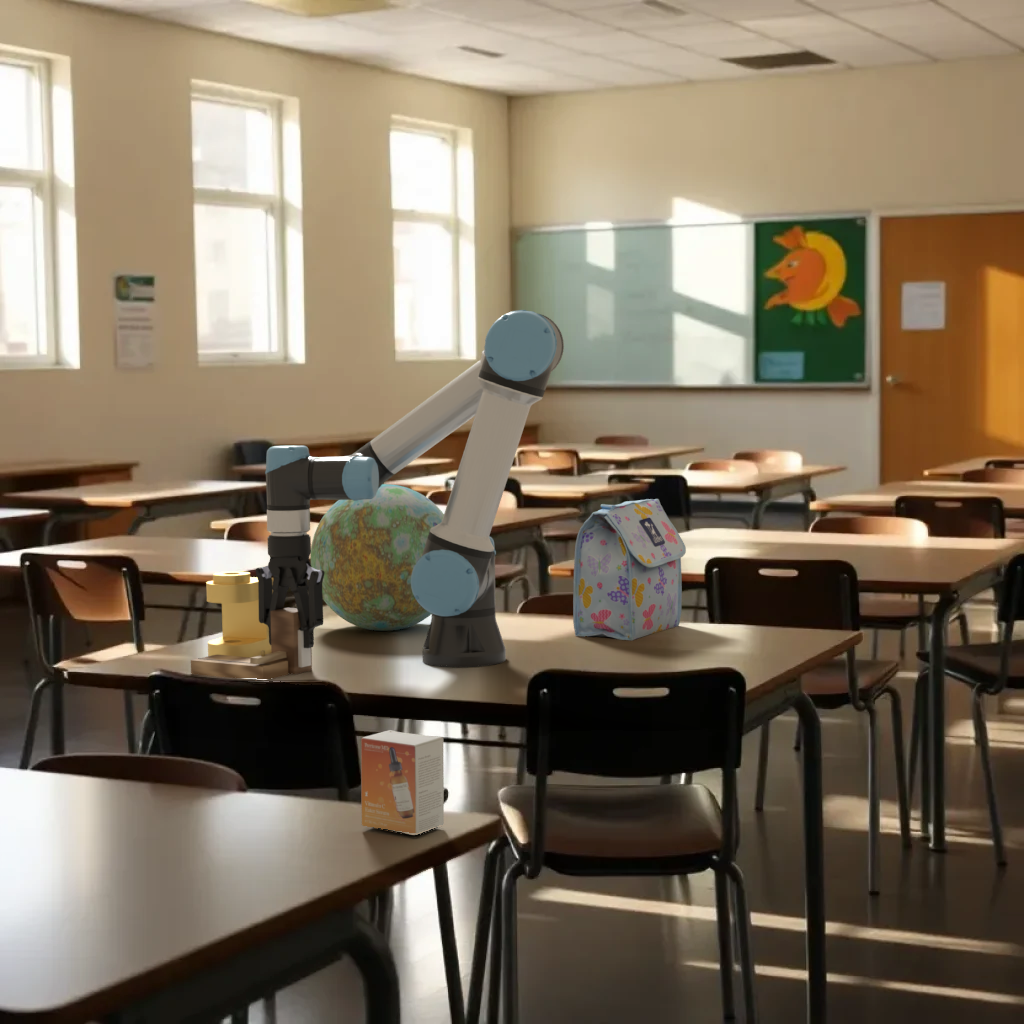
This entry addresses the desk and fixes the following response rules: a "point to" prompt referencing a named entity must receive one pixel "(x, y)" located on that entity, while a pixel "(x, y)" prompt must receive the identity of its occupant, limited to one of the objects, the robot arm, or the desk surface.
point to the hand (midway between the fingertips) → (291, 664)
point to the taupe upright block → (284, 640)
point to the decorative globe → (374, 557)
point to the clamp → (238, 615)
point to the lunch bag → (627, 572)
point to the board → (238, 667)
